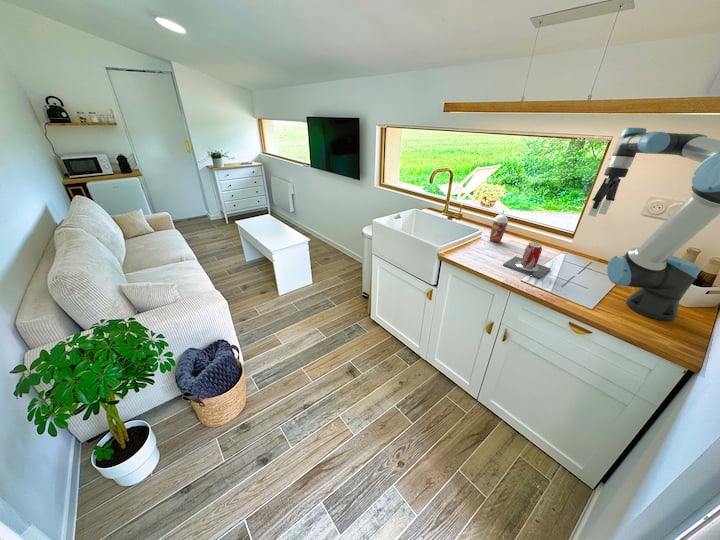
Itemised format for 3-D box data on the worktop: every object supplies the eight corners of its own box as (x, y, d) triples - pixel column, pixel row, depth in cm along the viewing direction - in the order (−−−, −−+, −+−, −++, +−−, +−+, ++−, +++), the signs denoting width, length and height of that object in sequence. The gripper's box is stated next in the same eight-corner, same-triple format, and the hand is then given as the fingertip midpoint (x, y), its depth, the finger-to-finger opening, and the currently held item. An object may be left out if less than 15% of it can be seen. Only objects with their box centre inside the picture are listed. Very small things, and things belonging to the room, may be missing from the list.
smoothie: (492, 237, 182) (500, 207, 173) (504, 241, 177) (513, 210, 167) (485, 240, 178) (493, 209, 168) (497, 244, 172) (507, 213, 163)
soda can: (534, 270, 141) (542, 249, 135) (518, 266, 145) (526, 245, 139) (536, 265, 146) (544, 244, 140) (521, 261, 150) (528, 240, 144)
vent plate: (550, 270, 144) (551, 268, 144) (539, 279, 136) (540, 277, 135) (515, 257, 156) (515, 256, 156) (502, 265, 147) (503, 263, 147)
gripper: (616, 167, 132) (596, 211, 141) (598, 165, 118) (577, 214, 127) (636, 169, 127) (615, 215, 136) (620, 167, 113) (597, 218, 122)
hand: (597, 214), depth 131 cm, fingers open, 13 cm apart
